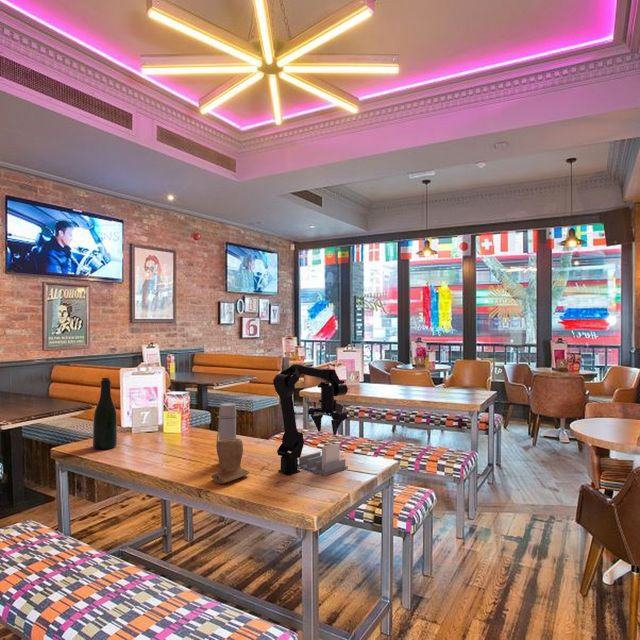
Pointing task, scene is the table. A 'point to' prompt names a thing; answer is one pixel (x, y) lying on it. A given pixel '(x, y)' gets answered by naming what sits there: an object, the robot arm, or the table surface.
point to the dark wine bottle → (105, 419)
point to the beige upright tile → (330, 454)
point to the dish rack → (320, 464)
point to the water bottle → (227, 422)
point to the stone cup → (229, 461)
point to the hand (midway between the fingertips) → (327, 433)
